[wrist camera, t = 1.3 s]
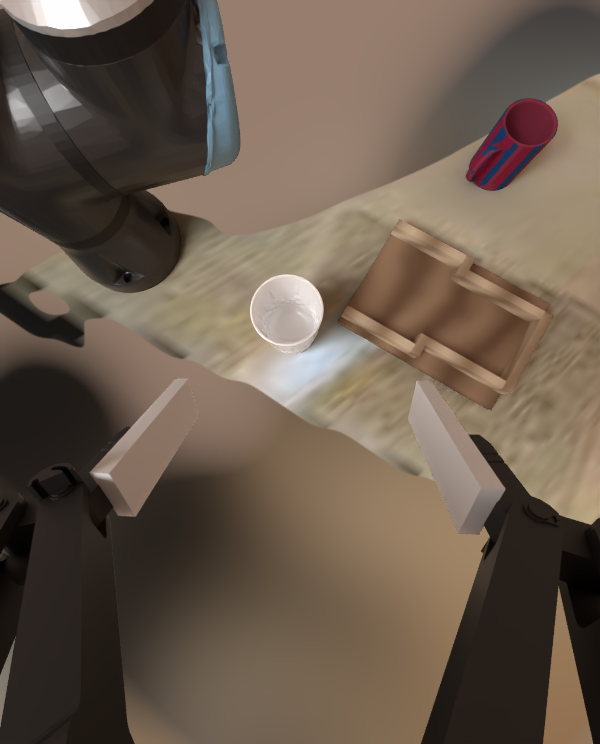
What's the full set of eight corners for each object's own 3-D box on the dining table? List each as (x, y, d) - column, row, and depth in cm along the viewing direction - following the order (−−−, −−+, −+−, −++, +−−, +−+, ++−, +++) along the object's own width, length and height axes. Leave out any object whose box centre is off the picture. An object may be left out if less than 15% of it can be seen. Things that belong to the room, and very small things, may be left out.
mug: (522, 178, 38) (568, 132, 32) (463, 208, 38) (496, 168, 31) (499, 142, 39) (540, 89, 32) (440, 171, 39) (469, 124, 32)
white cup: (254, 333, 38) (235, 312, 28) (290, 294, 38) (284, 259, 28) (293, 369, 37) (288, 361, 27) (330, 329, 37) (339, 306, 27)
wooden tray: (337, 322, 37) (340, 317, 35) (395, 226, 38) (402, 214, 36) (487, 409, 36) (501, 410, 33) (544, 306, 37) (562, 299, 34)
